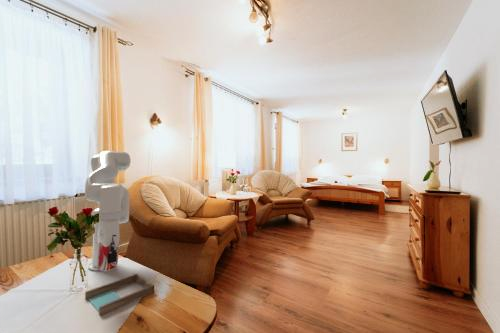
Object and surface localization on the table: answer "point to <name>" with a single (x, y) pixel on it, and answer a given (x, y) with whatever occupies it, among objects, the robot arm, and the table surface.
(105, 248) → the soda can
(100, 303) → the front mat
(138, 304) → the table surface
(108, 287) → the bay
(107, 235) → the robot arm
